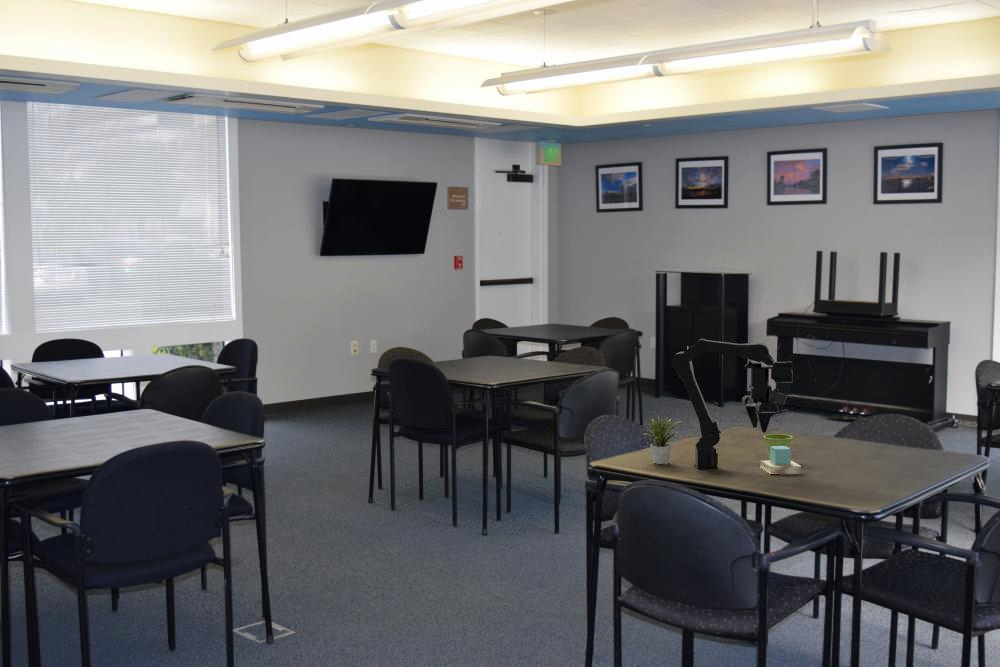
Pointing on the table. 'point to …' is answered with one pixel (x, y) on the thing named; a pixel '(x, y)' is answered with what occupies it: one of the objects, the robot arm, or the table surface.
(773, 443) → the plant pot
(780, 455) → the teal cube
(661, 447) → the house plant
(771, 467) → the cream square tray
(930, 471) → the table surface
